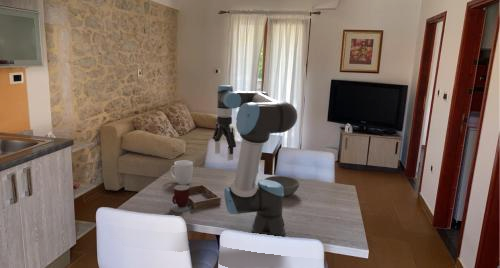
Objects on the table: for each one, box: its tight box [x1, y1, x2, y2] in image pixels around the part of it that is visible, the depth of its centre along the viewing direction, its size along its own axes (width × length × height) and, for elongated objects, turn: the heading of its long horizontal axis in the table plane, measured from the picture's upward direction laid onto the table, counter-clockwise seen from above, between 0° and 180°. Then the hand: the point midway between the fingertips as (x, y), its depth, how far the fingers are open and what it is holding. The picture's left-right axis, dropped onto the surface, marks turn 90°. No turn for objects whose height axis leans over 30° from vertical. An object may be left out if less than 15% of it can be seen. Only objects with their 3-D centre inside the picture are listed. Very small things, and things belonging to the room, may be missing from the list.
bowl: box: [263, 175, 300, 197], centre depth 208 cm, size 21×21×8 cm
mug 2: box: [172, 184, 191, 207], centre depth 184 cm, size 10×8×10 cm
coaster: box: [170, 203, 191, 213], centre depth 185 cm, size 10×10×1 cm
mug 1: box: [169, 159, 194, 185], centre depth 220 cm, size 15×11×13 cm
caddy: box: [187, 184, 222, 210], centre depth 196 cm, size 22×15×4 cm
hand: (223, 156), depth 185 cm, fingers open, 13 cm apart
